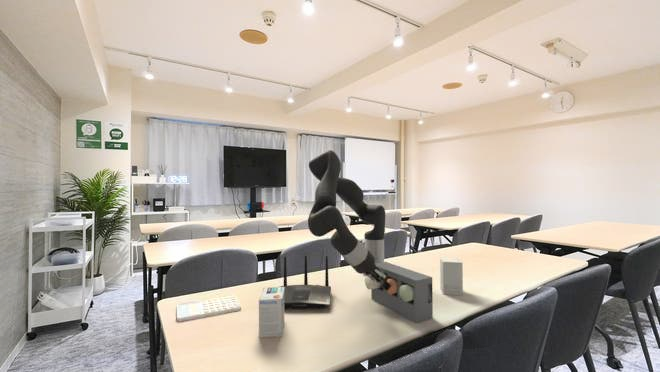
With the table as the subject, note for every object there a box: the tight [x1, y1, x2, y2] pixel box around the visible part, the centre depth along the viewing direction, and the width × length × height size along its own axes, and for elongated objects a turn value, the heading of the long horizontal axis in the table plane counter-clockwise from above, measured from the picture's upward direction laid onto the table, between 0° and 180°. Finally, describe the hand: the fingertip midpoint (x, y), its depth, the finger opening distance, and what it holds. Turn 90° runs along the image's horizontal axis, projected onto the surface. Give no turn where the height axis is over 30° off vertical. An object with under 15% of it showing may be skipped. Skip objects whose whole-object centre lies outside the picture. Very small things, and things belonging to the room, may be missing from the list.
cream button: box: [364, 275, 381, 290], centre depth 109 cm, size 5×5×5 cm
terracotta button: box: [386, 278, 398, 295], centre depth 104 cm, size 5×5×5 cm
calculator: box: [176, 294, 242, 322], centre depth 105 cm, size 13×20×2 cm, turn 117°
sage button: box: [399, 284, 414, 302], centre depth 97 cm, size 5×5×5 cm
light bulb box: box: [258, 286, 285, 338], centre depth 90 cm, size 11×7×11 cm, turn 5°
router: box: [279, 254, 332, 310], centre depth 113 cm, size 21×20×15 cm
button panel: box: [370, 261, 434, 324], centre depth 105 cm, size 7×23×13 cm, turn 29°
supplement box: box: [439, 257, 464, 296], centre depth 120 cm, size 7×7×13 cm
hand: (387, 287), depth 102 cm, fingers closed
